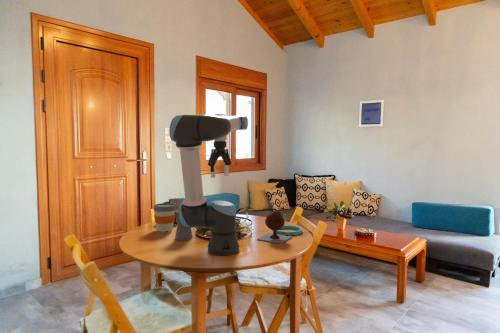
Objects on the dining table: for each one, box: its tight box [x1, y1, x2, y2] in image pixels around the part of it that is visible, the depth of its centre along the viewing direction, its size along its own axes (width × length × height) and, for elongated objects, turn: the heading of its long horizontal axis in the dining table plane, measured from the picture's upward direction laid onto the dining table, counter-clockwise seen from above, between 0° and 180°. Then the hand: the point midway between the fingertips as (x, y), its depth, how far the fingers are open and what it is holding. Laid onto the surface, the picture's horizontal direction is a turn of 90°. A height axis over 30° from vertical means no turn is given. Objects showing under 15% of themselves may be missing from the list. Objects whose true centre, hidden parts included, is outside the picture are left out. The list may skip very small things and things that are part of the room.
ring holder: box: [276, 224, 303, 237], centre depth 194 cm, size 16×16×2 cm
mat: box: [256, 232, 293, 245], centre depth 180 cm, size 14×14×1 cm
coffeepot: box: [174, 210, 193, 241], centre depth 180 cm, size 15×9×18 cm, turn 147°
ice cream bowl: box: [264, 209, 286, 239], centre depth 179 cm, size 11×11×15 cm
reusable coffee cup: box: [153, 202, 176, 233], centre depth 195 cm, size 13×13×15 cm
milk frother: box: [163, 197, 184, 226], centre depth 214 cm, size 14×16×15 cm
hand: (220, 176), depth 197 cm, fingers open, 13 cm apart
